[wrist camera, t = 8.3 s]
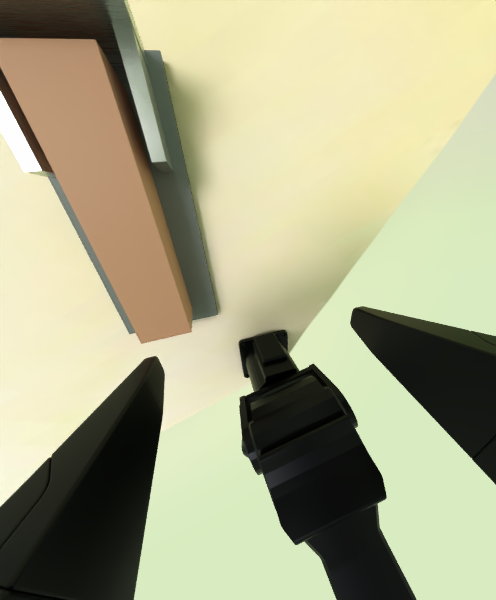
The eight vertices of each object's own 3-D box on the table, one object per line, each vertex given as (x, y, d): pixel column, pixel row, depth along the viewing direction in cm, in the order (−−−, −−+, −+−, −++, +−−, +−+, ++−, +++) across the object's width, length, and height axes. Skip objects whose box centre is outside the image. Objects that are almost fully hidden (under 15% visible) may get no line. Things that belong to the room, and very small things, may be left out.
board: (217, 311, 21) (217, 314, 20) (131, 329, 19) (129, 333, 18) (162, 60, 12) (160, 50, 11) (-5, 58, 10) (-20, 46, 10)
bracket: (174, 171, 14) (159, 148, 8) (65, 181, 12) (-30, 161, 7) (144, 50, 11) (94, -97, 6) (0, 47, 10) (-231, -143, 4)
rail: (192, 309, 19) (191, 332, 15) (152, 318, 18) (141, 343, 15) (126, 91, 11) (95, 39, 8) (54, 93, 11) (-15, 37, 7)
